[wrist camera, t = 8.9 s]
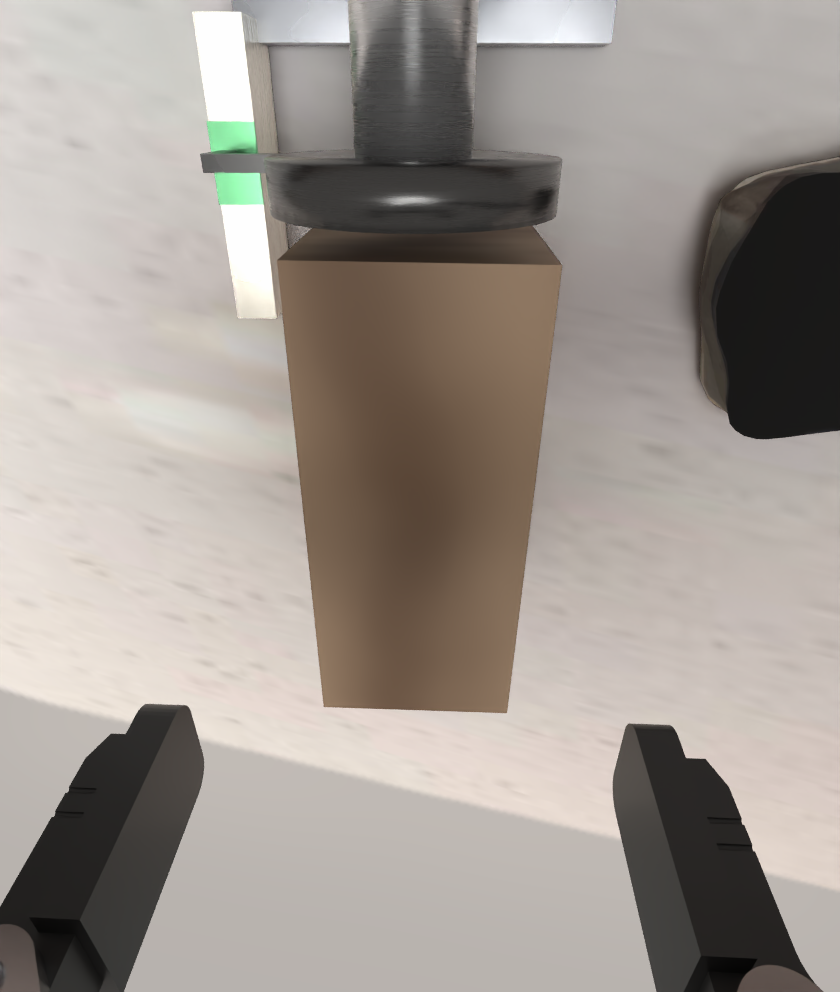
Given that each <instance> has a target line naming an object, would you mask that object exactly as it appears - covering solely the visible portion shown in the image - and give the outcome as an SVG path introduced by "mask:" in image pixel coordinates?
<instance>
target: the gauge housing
mask: <svg viewBox="0 0 840 992" xmlns="http://www.w3.org/2000/svg"><path fill="white" fill-rule="evenodd" d="M616 4H617V0H479V5H478V29H477V46H605V45H608V44H610V43H611V42H612V34H613V27H614V19H615V12H616ZM232 7H233V12H192V14H193V21H194V27H195V34H196V41H197V47H198V54H199V61H200V67H201V74H202V81H203V88H204V94H205V101H206V108H207V114H208V121H207V127H208V133H209V140H210V147H211V152H214V151H219V150H236V151H237V153H279V151H278V141H277V131H276V121H275V112H274V102H273V92H272V82H271V72H270V62H269V52H268V46H350V40H349V18H348V0H232ZM215 180H216V187H217V193H218V200H219V205H221V208H222V215H223V222H224V228H225V235H226V242H227V248H228V255H229V262H230V269H231V275H232V282H233V289H234V295H235V302H236V309H237V316H238V318H258V319H277V318H278V316H279V315H280V314H281V313H282V305H281V295H280V286H279V276H278V267H277V260H278V259H279V258H280V257H281V256H282V255H283V254H284V253H285V252H287V251H288V240H287V230H286V223H285V222H282V221H279V220H277V219H275V218H273V217H272V216H271V215H270V208H269V199H268V190H267V181H266V173H215Z"/></svg>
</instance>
